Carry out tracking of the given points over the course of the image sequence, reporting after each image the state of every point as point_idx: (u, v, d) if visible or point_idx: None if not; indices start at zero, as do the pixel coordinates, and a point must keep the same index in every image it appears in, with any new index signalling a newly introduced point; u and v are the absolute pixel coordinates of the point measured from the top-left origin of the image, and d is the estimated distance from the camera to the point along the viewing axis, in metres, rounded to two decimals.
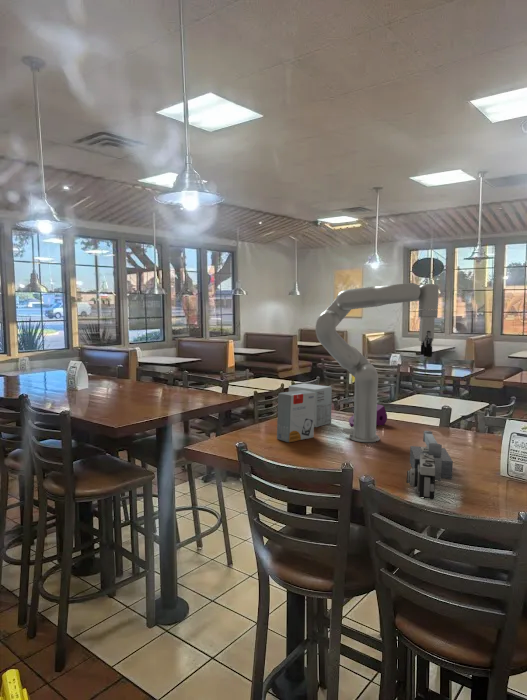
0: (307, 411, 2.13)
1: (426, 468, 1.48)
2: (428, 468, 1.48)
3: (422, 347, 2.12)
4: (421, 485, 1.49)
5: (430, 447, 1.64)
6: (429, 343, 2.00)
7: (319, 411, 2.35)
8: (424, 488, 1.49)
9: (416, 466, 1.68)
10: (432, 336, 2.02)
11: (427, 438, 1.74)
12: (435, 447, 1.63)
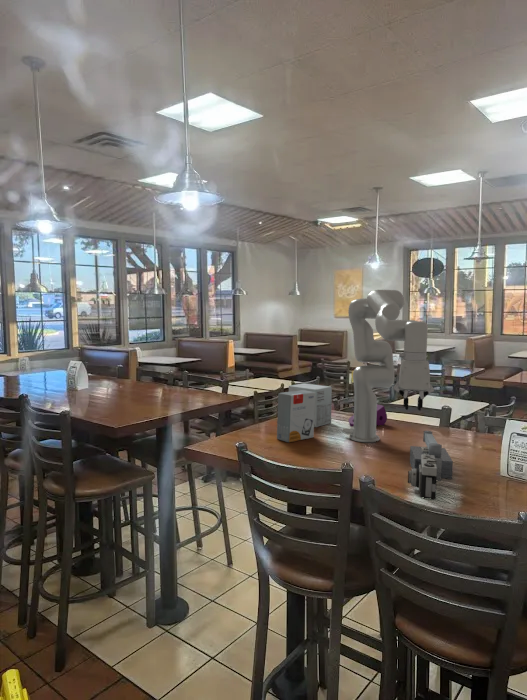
0: (307, 411, 2.13)
1: (428, 468, 1.48)
2: (430, 468, 1.48)
3: None
4: (423, 485, 1.49)
5: (430, 447, 1.64)
6: None
7: (319, 411, 2.35)
8: (426, 489, 1.48)
9: (416, 466, 1.68)
10: None
11: (427, 438, 1.74)
12: (435, 447, 1.63)
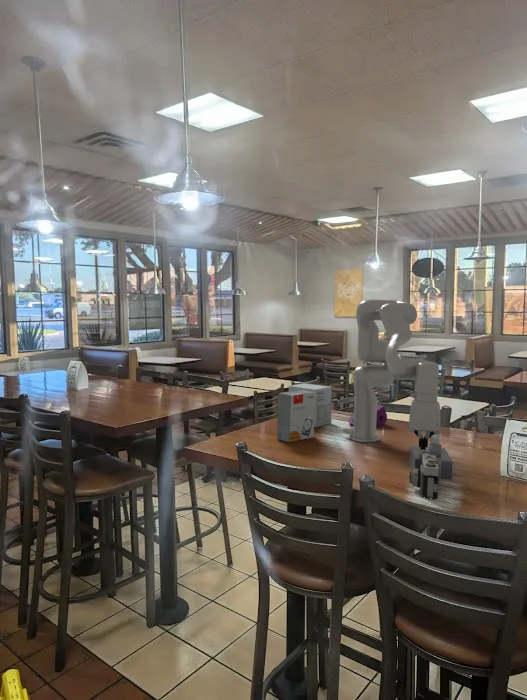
0: (307, 411, 2.13)
1: (429, 468, 1.48)
2: (431, 468, 1.48)
3: (423, 441, 1.74)
4: (424, 485, 1.49)
5: (429, 447, 1.64)
6: None
7: (319, 411, 2.35)
8: (428, 489, 1.48)
9: (416, 466, 1.68)
10: None
11: (431, 438, 1.74)
12: (434, 447, 1.63)
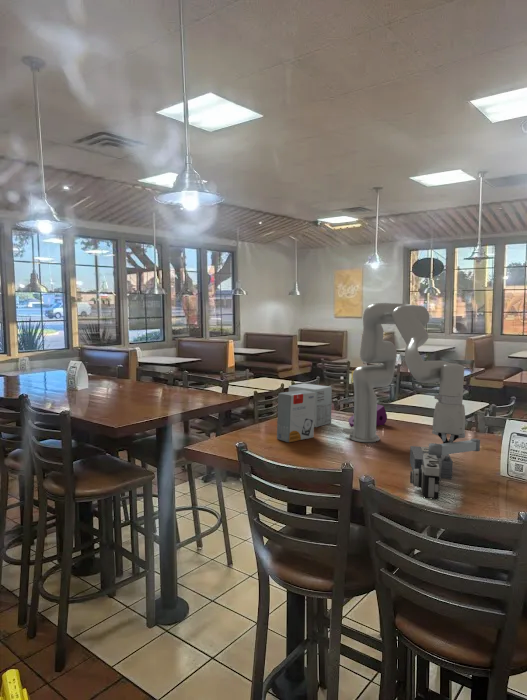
0: (307, 411, 2.13)
1: (430, 468, 1.48)
2: (432, 468, 1.48)
3: None
4: (425, 485, 1.48)
5: None
6: None
7: (319, 411, 2.35)
8: (429, 489, 1.48)
9: (416, 466, 1.68)
10: None
11: (454, 442, 1.69)
12: (430, 446, 1.64)
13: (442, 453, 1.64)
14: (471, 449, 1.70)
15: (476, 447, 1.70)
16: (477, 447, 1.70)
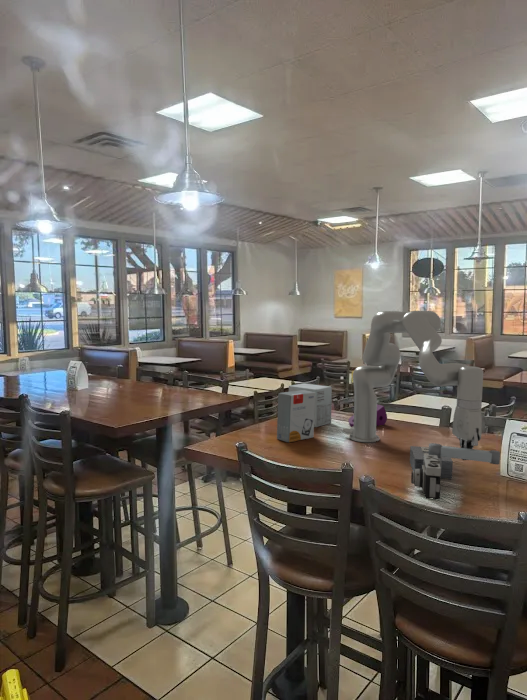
0: (307, 411, 2.13)
1: (432, 468, 1.48)
2: (434, 468, 1.47)
3: None
4: (427, 485, 1.48)
5: None
6: None
7: (319, 411, 2.35)
8: (430, 489, 1.48)
9: (416, 466, 1.68)
10: None
11: None
12: (429, 445, 1.65)
13: (441, 454, 1.63)
14: (484, 460, 1.58)
15: (491, 459, 1.57)
16: (493, 459, 1.57)
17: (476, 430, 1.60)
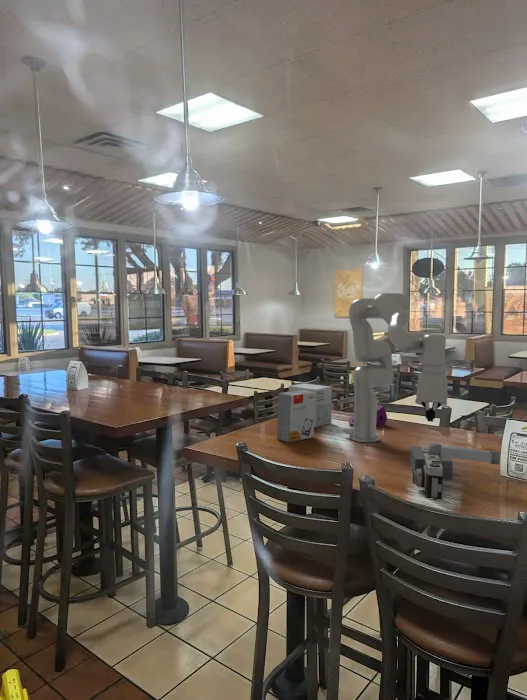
0: (307, 411, 2.13)
1: (434, 469, 1.48)
2: (436, 468, 1.47)
3: None
4: (429, 486, 1.48)
5: None
6: None
7: (319, 411, 2.35)
8: (432, 489, 1.48)
9: (416, 466, 1.68)
10: None
11: None
12: (429, 445, 1.65)
13: (441, 454, 1.63)
14: (484, 460, 1.58)
15: (491, 459, 1.57)
16: (493, 459, 1.57)
17: None
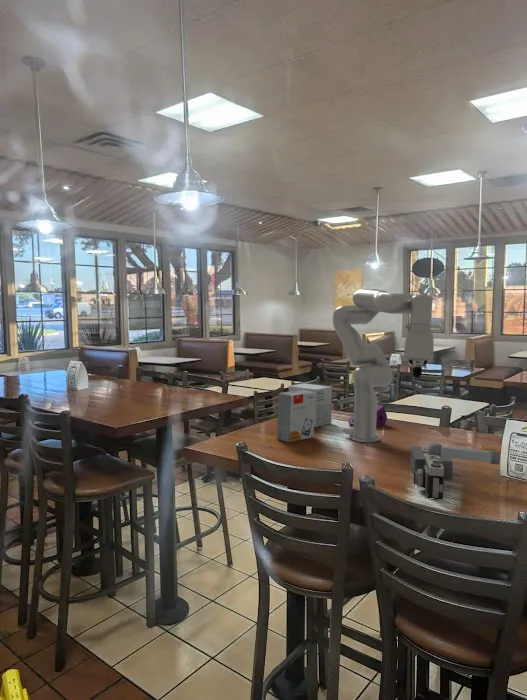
0: (307, 411, 2.13)
1: (435, 469, 1.47)
2: (437, 469, 1.47)
3: None
4: (430, 486, 1.48)
5: None
6: None
7: (319, 411, 2.35)
8: (433, 489, 1.48)
9: (416, 466, 1.68)
10: None
11: None
12: (429, 445, 1.65)
13: (441, 454, 1.63)
14: (484, 460, 1.58)
15: (491, 459, 1.57)
16: (493, 459, 1.57)
17: None
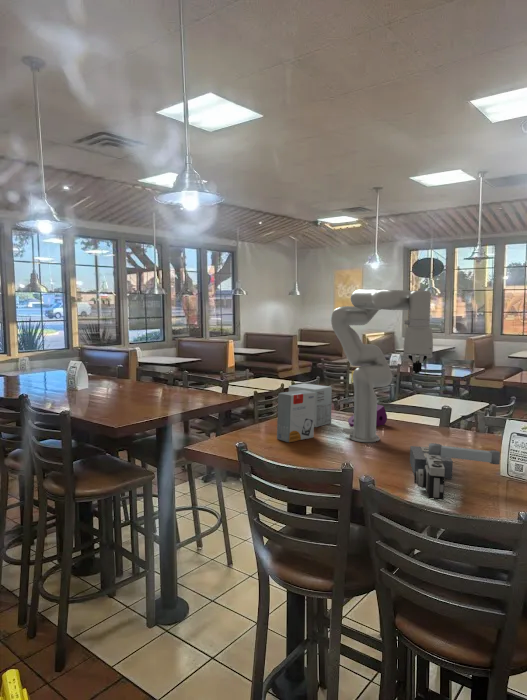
0: (307, 411, 2.13)
1: (436, 469, 1.47)
2: (438, 469, 1.47)
3: (417, 365, 1.86)
4: (431, 486, 1.48)
5: None
6: None
7: (319, 411, 2.35)
8: (434, 489, 1.48)
9: (416, 466, 1.68)
10: None
11: None
12: (429, 445, 1.65)
13: (441, 454, 1.63)
14: (484, 460, 1.58)
15: (491, 459, 1.57)
16: (493, 459, 1.57)
17: None
